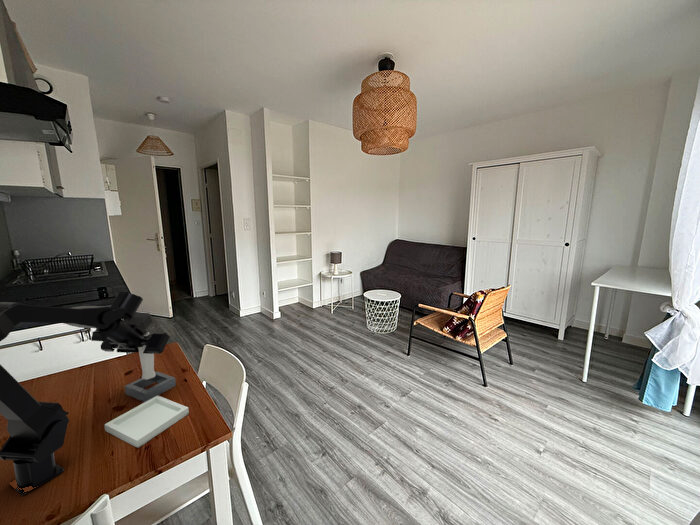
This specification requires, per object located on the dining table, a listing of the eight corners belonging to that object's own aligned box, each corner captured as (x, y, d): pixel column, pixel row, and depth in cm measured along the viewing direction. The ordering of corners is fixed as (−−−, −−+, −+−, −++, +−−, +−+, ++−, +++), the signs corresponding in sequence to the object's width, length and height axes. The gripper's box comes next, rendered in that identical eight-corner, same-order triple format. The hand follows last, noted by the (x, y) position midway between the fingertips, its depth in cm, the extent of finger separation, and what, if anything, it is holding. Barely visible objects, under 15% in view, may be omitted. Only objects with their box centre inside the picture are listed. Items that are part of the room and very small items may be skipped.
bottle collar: (175, 385, 96) (175, 377, 96) (145, 402, 87) (144, 393, 87) (156, 378, 100) (156, 371, 100) (125, 394, 91) (124, 385, 90)
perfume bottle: (154, 371, 96) (151, 329, 94) (159, 375, 93) (155, 333, 91) (138, 376, 92) (135, 333, 90) (142, 381, 90) (138, 337, 88)
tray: (188, 413, 82) (188, 407, 82) (137, 447, 70) (137, 440, 69) (157, 401, 88) (157, 395, 88) (105, 431, 75) (104, 424, 75)
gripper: (163, 308, 85) (188, 329, 98) (105, 306, 86) (137, 327, 98) (145, 343, 78) (174, 361, 91) (82, 341, 79) (119, 359, 92)
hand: (151, 351), depth 93 cm, fingers closed on perfume bottle, 4 cm apart
